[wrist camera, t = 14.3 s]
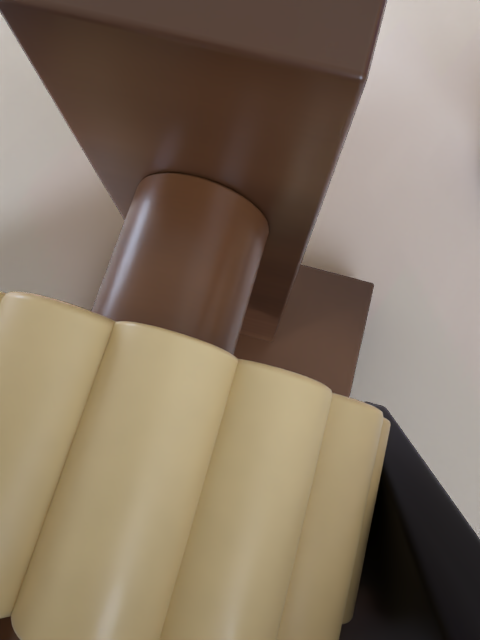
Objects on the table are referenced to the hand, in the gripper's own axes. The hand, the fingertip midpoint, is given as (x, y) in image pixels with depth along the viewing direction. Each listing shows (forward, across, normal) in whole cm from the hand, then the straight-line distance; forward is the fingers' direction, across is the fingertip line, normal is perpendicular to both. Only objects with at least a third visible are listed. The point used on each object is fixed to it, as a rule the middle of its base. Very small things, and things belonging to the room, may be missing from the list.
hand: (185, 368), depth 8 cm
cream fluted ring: (0, 0, +2) cm, 3 cm away
